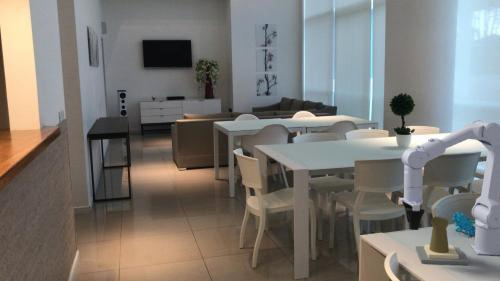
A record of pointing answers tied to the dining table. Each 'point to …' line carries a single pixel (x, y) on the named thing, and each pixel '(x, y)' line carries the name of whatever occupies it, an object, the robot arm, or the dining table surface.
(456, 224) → the blue lumpy cluster
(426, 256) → the grey flat slab
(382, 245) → the dining table surface
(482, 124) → the robot arm
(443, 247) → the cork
